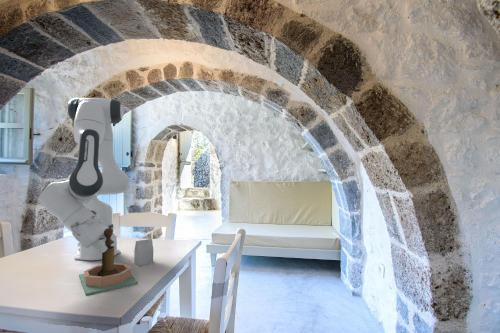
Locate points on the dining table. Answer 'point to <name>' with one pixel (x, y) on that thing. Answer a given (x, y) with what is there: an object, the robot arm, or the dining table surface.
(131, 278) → the green mat
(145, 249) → the tea bag
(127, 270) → the pink octagonal ring
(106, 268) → the brown wooden chess piece
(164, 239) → the dining table surface
